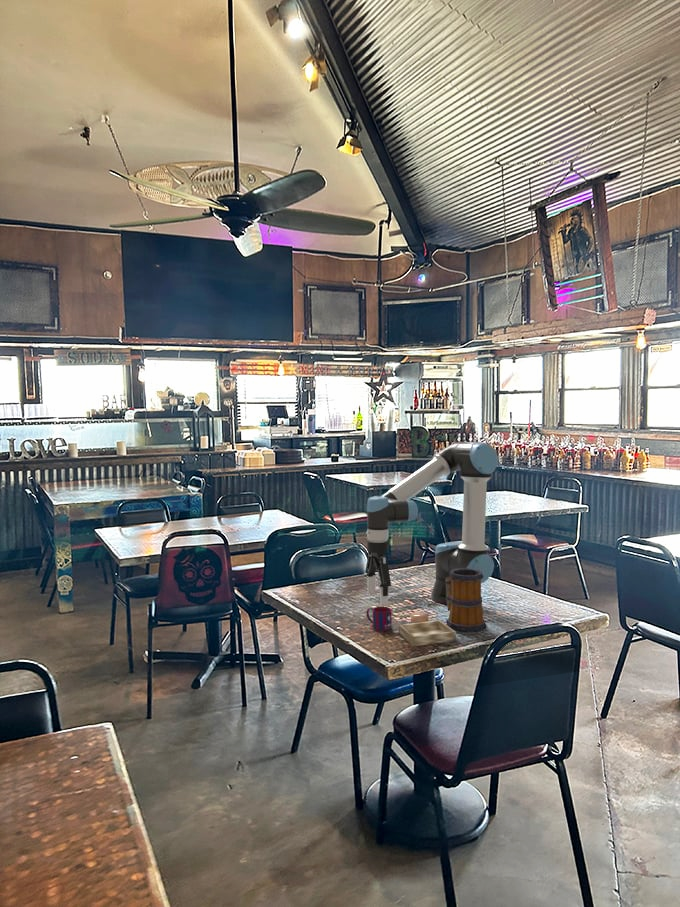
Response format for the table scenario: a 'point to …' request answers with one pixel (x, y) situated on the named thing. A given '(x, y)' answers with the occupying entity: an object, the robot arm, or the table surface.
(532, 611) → the table surface
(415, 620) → the tan rounded block
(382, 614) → the cup
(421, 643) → the wooden tray
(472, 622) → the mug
